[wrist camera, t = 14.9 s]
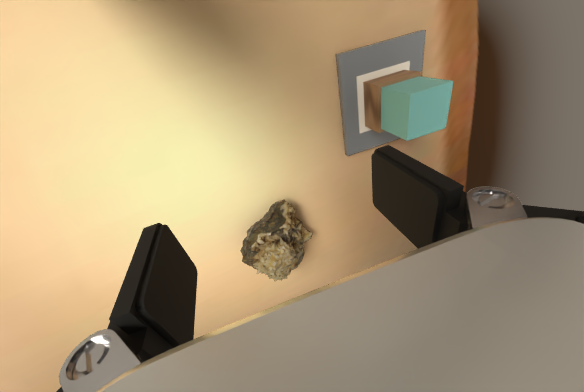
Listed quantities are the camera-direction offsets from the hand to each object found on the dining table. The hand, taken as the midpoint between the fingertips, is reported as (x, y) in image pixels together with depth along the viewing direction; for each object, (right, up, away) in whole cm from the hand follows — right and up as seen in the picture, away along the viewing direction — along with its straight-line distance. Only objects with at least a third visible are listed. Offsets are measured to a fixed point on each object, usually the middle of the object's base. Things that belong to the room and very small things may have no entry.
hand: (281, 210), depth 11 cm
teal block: (+16, +14, +25) cm, 33 cm away
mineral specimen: (-2, -6, +38) cm, 39 cm away
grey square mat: (+15, +17, +29) cm, 37 cm away
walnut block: (+15, +16, +28) cm, 36 cm away
